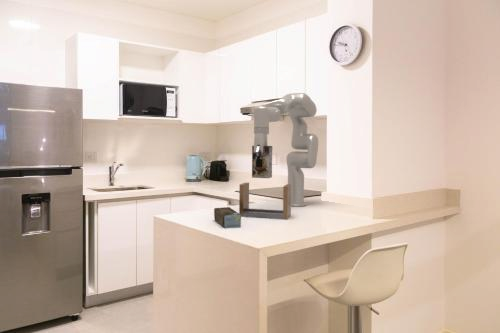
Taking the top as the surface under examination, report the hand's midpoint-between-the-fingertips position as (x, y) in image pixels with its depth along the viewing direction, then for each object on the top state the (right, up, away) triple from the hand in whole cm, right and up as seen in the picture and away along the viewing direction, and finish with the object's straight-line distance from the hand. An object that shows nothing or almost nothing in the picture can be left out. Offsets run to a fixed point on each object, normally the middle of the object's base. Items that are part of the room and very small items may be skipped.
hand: (261, 166), depth 209 cm
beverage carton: (-16, -26, -21) cm, 37 cm away
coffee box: (+1, -6, 0) cm, 6 cm away
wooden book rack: (+2, -25, -1) cm, 25 cm away
